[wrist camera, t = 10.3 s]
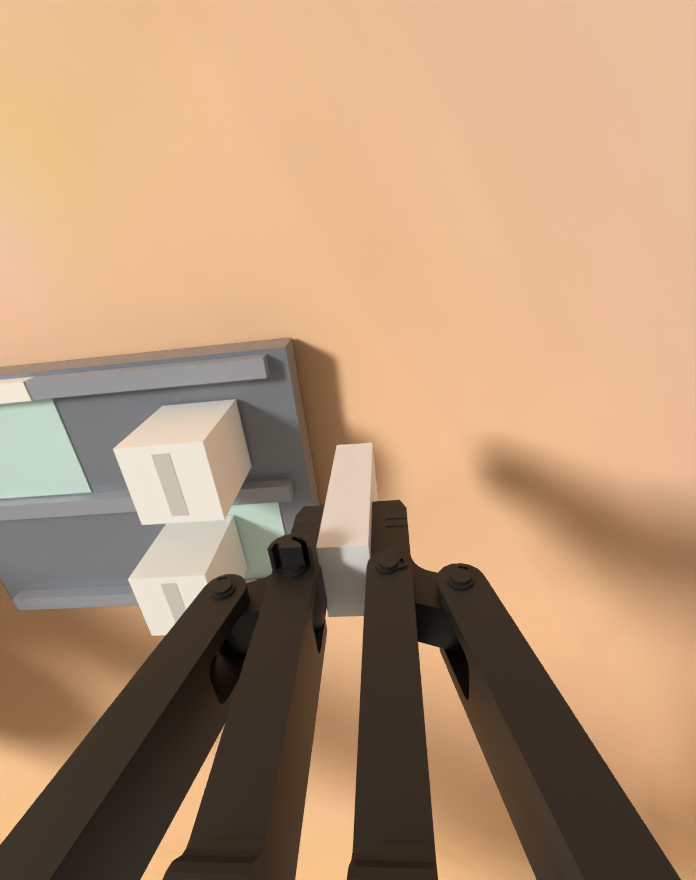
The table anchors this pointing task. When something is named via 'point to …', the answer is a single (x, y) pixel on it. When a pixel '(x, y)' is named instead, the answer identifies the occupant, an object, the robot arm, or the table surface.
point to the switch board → (99, 475)
